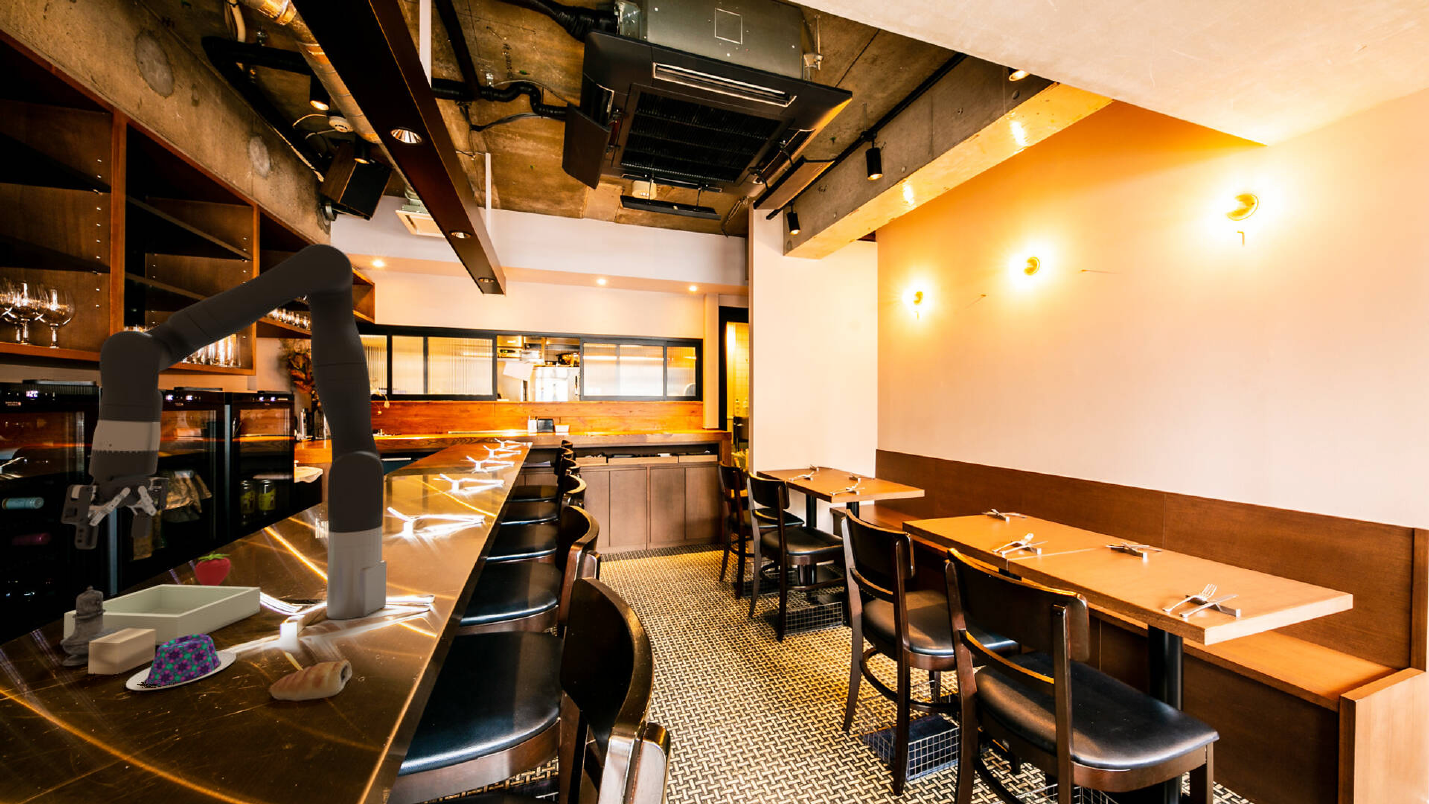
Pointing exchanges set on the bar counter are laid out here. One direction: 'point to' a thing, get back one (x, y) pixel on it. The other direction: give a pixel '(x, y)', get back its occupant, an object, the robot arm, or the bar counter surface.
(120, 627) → the tray
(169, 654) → the patterned hat
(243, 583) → the bar counter surface
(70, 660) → the dark grey tiered piece
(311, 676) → the pastry
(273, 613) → the bar counter surface
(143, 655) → the maple block
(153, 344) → the robot arm
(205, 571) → the strawberry
